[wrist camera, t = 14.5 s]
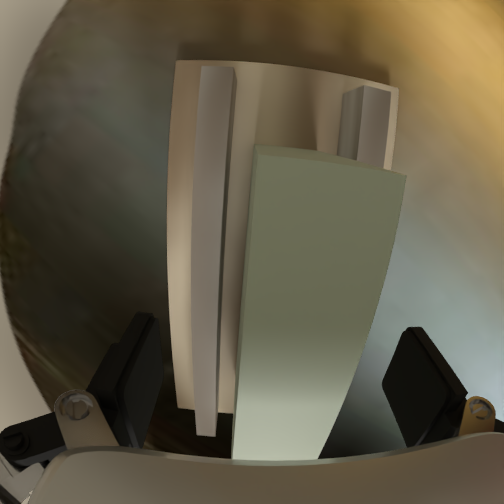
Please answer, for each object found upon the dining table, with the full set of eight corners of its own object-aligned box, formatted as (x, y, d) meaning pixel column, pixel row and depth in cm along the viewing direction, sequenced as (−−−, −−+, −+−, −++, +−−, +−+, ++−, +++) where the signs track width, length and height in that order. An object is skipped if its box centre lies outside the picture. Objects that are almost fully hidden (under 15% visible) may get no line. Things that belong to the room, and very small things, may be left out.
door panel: (317, 150, 14) (406, 175, 6) (281, 378, 19) (294, 501, 11) (253, 143, 14) (258, 154, 5) (235, 376, 19) (228, 501, 10)
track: (390, 90, 14) (428, 81, 10) (323, 405, 21) (332, 445, 18) (180, 64, 13) (158, 44, 9) (180, 398, 21) (170, 439, 17)
